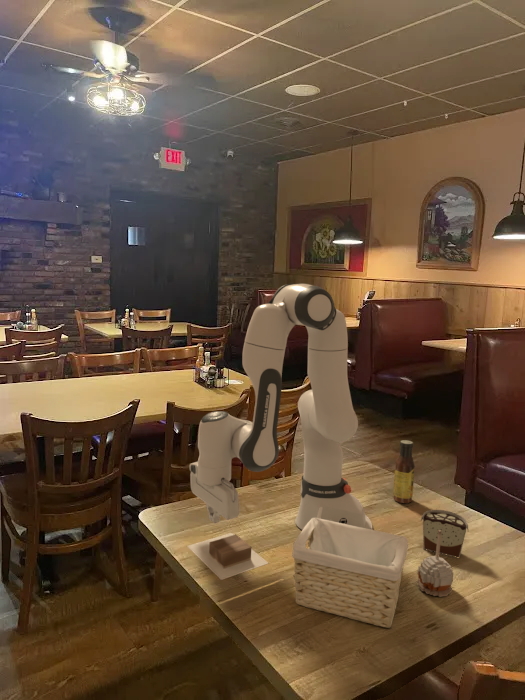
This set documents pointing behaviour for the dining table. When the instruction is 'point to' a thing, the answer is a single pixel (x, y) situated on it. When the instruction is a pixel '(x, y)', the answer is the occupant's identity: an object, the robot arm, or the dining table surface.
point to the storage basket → (349, 570)
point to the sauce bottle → (404, 473)
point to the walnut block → (230, 551)
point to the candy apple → (435, 574)
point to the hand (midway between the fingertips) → (214, 520)
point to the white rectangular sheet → (203, 554)
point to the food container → (444, 531)
